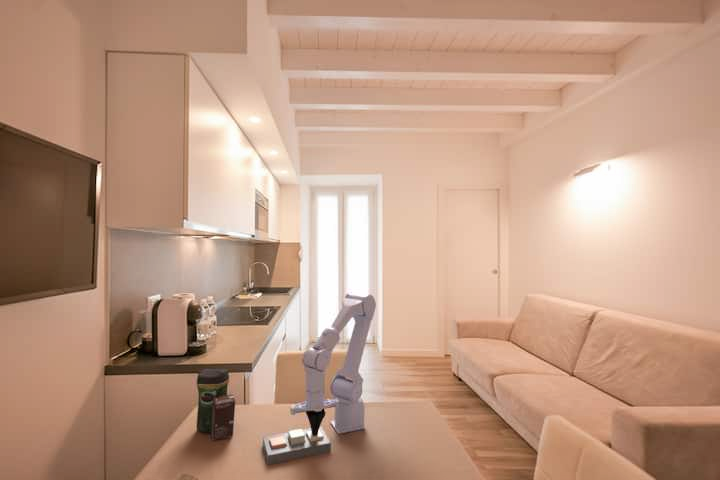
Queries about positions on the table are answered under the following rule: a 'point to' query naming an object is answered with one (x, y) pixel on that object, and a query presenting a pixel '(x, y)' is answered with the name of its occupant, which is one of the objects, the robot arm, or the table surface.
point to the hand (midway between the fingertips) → (314, 434)
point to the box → (223, 417)
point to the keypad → (295, 448)
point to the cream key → (314, 438)
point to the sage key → (296, 437)
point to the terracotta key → (277, 442)
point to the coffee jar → (209, 394)
